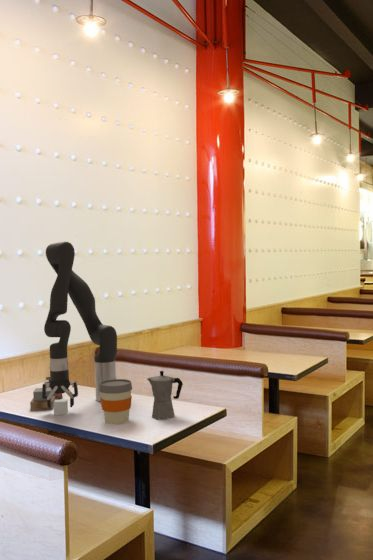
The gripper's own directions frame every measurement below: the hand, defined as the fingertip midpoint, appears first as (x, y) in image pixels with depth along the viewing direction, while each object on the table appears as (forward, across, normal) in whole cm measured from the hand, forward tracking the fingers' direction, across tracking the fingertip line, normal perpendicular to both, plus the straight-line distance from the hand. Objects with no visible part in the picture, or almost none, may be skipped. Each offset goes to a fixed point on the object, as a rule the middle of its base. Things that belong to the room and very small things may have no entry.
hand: (60, 407), depth 230 cm
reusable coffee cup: (+2, -23, +17) cm, 29 cm away
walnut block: (+3, +9, -11) cm, 14 cm away
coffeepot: (+2, -42, +15) cm, 45 cm away
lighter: (+2, +6, -26) cm, 27 cm away
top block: (+2, 0, 0) cm, 2 cm away
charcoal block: (-2, +8, -11) cm, 14 cm away
